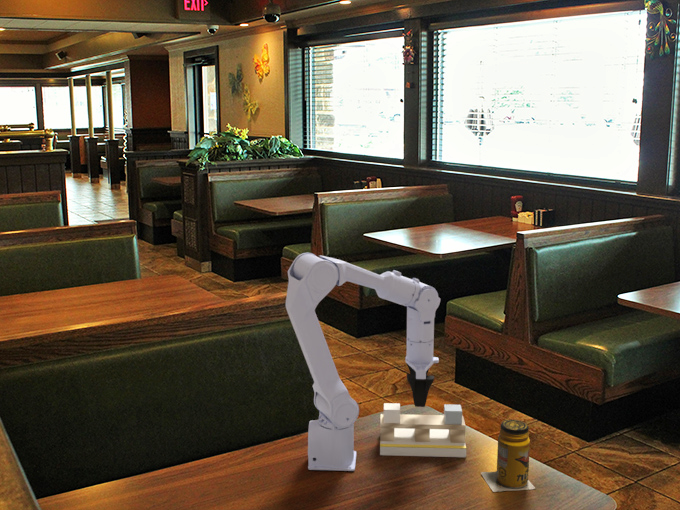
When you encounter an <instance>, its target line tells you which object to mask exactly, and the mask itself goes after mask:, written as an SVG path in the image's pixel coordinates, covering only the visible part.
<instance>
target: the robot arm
mask: <svg viewBox="0 0 680 510" xmlns="http://www.w3.org/2000/svg"><path fill="white" fill-rule="evenodd" d="M287 277H288V283H287V290H286V296H285V297H286V298H285V309H286V312H287V315H288V317H289V320H290V323H291V325H292V328H293V330H294V332H295V336H296V339H297V341H298V344H299V347H300V349H301V351H302V354H303V356H304V359H305V361H306V362H305V363H306V364H307V367H308V370H309V373H310V375H311V378H312V379H313V384H312V386H311V387H312V388H313V392H314V394H313V395H314V396H313V404H314V406H315V408H316V409H317V410H318V413H319V415H318V419H315V420H313V419H312V420H310V421H309V423H308V431H307V435H308V436H307V457H308V459H307V460H308V462H307V463H308V465H307V469H308V470H309V471H338V472H339V471H342V472H343V471H344V472H347V471H348V472H354V471H355V470H356V463H357V461H356V460H357V451H356V450H354V449H355V447H354V446H355V443H354V442H355V440H354V439H355V438H354V437H355V433H354V431H355V428H354V427H355V425H354V424H355V422H356V421H357V419H358V417H359V413H360V407H359V404H358V402H357V401H356V400H355V399H354V398H352V397H351V395H350V393H349V390H348V389H347V387H346V386H345V384H344V383H343V381H342V380H341V378H340V375H339V372H338V369H337V368H336V364H335V362H334V360H333V357H332V354H331V352H330V348H329V346H328V343H327V341H326V338H325V336H324V335H325V334H324V332H323V330H322V327H321V324H320V321H319V318H318V317H317V316H318V315H317V314H316V308H317V306H318V305H319V303H320V302H321V301H322V300H323V299H324V298H325V297H326V296H328V294H329V293H330V292H331V291H332V290H333V289H334V288H335V287H336V286H338V287H340V286H343V284H345V283H346V282H349V283H353V284H355V285H359V286H363V287H366V288H369V289H374V290H375V292H376V295H377V296H378V298H380V299H382V300H386V301H389V302H392V303H394V304H398V305H401V306H404V307H406V355H405V360H404V362H405V364H406V365H407V368H408V370H409V373H406V379H407V381H408V383H409V385H410V389H411V393H412V401H413V404H414V407H415V408H416V407H417V408H424V407H425V406H426V404H427V400H428V395H429V390H430V388H431V386H432V384H433V383H434V380H435V376H434V375H428V373H429V370H430V368H432V366H433V365H434V364H438V363H439V362H440V360H439V359H440V358H439V357H436V356H434V345H435V344H434V339H435V336H434V335H435V318H436V311H437V309H438V308H439V306H440V303H441V298H440V297H439V293H438V291H437V290H436V288H435V287H433V286H431V285H428V284H426V283H423V282H421V281H420V279H419V278H416V277H412V278H409V277H407V276H403V275H402V272H400V271H398V270H395V269H393V270H392V271H389V270H387V271H385V272H382V273H381V274H378V273H376V272H373V271H371V270H368V269H365V268H363V267H360V266H357V265H354V264H352V263H349V262H347V261H344V260H342V259H337V258H335V257H331V256H330V257H329V256H326V255H318V256H317V255H316V254H314V253H312V252H303V253H300V254H299V255H297V256H296V257H295V259H294V260H293V261H292V263H291V265H290V266H289V268H288V270H287Z"/></svg>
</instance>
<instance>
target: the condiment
mask: <svg viewBox="0 0 680 510" xmlns="http://www.w3.org/2000/svg"><path fill="white" fill-rule="evenodd" d="M529 430H530V428H529V426H528V424H527V423H526V422H525V421H523V420H518V419H505V420H503V421H502V422H501V423H500V429H499V434H498V437H497V455H496V457H497V458H496V471H482V472H480V475H481V476H482V477H483V479H484V481H485V482H486V484H487V486H488V487H489V488H490V490H492V492H493V493H496V492H497V493H499V492H505V491H506V492H508V491H511V492H513V491H516V492H517V491H527V490H535V489H536V487H535V486H534V485H533V483H532V482H531V481H530V480H529V471H530V469H529V468H530V467H529V466H530V450H531V449H530V448H531V447H530V446H531V440H530V437H529Z"/></svg>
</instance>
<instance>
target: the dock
mask: <svg viewBox="0 0 680 510" xmlns="http://www.w3.org/2000/svg"><path fill="white" fill-rule="evenodd" d="M379 455H380V456H394V457H395V456H399V457H400V456H401V457H402V456H403V457H440V458H441V457H443V458H444V457H446V458H467V446H466V442H465V443H451V441H450V436H449V429H430V442H415V429H406V428H394V441H380V440H379Z"/></svg>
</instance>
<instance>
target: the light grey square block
mask: <svg viewBox="0 0 680 510" xmlns="http://www.w3.org/2000/svg"><path fill="white" fill-rule="evenodd" d="M443 415H444V421H445V424H458V425H462V416H463V409H462V405H461V404H452V403H451V404H449V403H448V404H447V403H446V404H443Z"/></svg>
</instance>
